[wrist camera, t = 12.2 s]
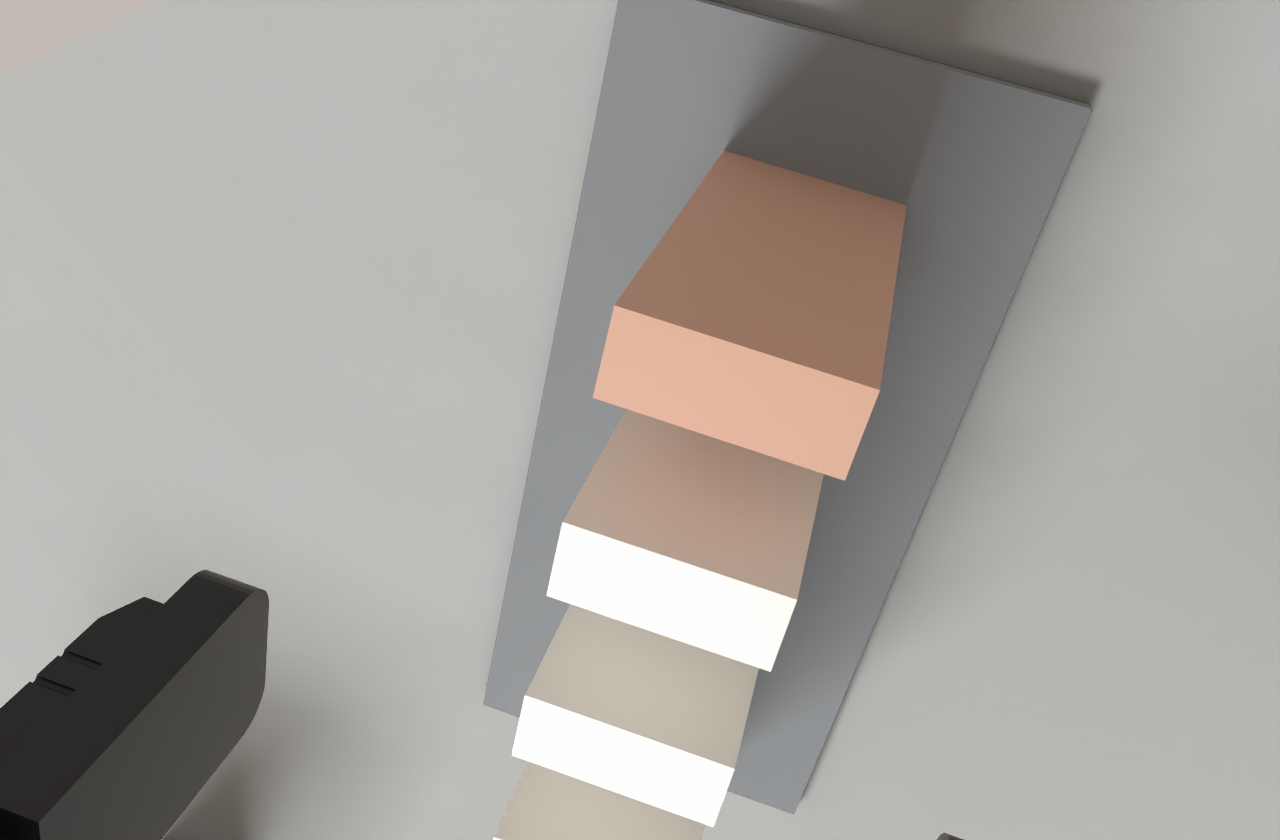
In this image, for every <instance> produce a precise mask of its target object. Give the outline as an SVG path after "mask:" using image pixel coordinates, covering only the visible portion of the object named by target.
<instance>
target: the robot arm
mask: <svg viewBox="0 0 1280 840" xmlns="http://www.w3.org/2000/svg"><path fill="white" fill-rule="evenodd" d="M268 612H269V599H268V595H267V592H266V591H265V590H262V589H259V588H256V587H254V586H251V585H248V584H245V583H242V582H239V581H237V580H234V579H231V578H228V577H225V576H222V575H220V574H217V573H214V572H211V571H208V570H203V571H200V572H198V573H196V574H195V575H194V576H192V577H191V578H190V579H189V580H188V581H187V582H186V583H185V584H184V585H183V586H182V587H181V588H180V589H179V590H178V591H177V592H176V593H175V594H174V595H173V596H172V597H171V598H170V599H169V600H168V601H167V602H166V603H164V604H163V603H160V602H157V601H154V600H151V599H149V598H146V597H143V598H141V599H139V600H136V601H134V602H132V603H130V604H128V605H126V606H124V607H122V608H119V609H117V610H115V611H113V612H111V613H109V614H107V615H105V616H102V617H100V618H98V619H97V620H96V621H95V622H94V623H93V624H92V625H91V626H90V627H89V628H87V629H86V630H85V631H84V632H83V633H82V634H81V635H80V636H79V637H78V638H77V639H75V640H74V641H73V642H72V643H71V644H70V645H69V646H68V647H67V648H66V649H65V650H64V653H63V655H62V656H61V657H60V656H57V657H56V658H55V659H54V660H53V661H52V662H50V663H49V664H48V665H47V666H46V667H45V668H44V669H43V670H42V671H41V672H40V673H38V674H37V677H36V679H35V681H34V682H33V683H32V682H29V683H28V684H27V685H25V686H24V687H23V688H22V689H21V690H20V691H19V692H18V693H17V694H16V695H15V696H13V697H12V698H11V699H10V700H9V701H8V702H7V703H6V704H5V705H4V706H3V707H1V708H0V840H161V839H162V837H163V836H164V835H165V834H166V832H167V831H168V830H169V828H170V827H171V826H172V825H173V823H174V822H175V821H176V820H177V818H178V817H179V816H180V815H181V813H182V812H183V811H184V810H185V808H186V807H187V806H188V804H189V803H190V802H191V801H192V799H193V798H194V797H195V796H196V794H197V793H198V792H199V791H200V789H201V788H202V787H203V786H204V784H205V783H206V782H207V780H208V779H209V778H210V777H211V775H212V774H213V773H214V772H215V770H216V769H217V768H218V767H219V765H220V764H221V763H222V761H223V760H224V759H225V758H226V756H227V755H228V754H229V753H230V751H231V750H232V749H233V748H234V746H235V745H236V744H237V743H238V741H239V740H240V739H241V737H242V736H243V735H244V733H245V732H246V730H247V729H248V727H249V725H250V724H251V722H252V720H253V718H254V716H255V714H256V711H257V709H258V707H259V704H260V701H261V698H262V694H263V690H264V685H265V670H266V651H267V631H268ZM937 840H963V839H960V838H957V837H955V836H952V835H949V834H946V833H943V834H941V835H940V836H939V837H938V839H937Z"/></svg>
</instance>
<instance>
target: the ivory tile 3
mask: <svg viewBox="0 0 1280 840" xmlns="http://www.w3.org/2000/svg"><path fill="white" fill-rule="evenodd" d="M758 670H759V668H757V667H754V666H752V665H749V664H746V663H743V662H740V661H737V660H734V659H731V658H728V657H725V656H722V655H719V654H716V653H713V652H710V651H707V650H704V649H702V648H699V647H696V646H693V645H690V644H687V643H684V642H681V641H678V640H675V639H672V638H669V637H666V636H663V635H660V634H657V633H654V632H652V631H649V630H646V629H643V628H640V627H637V626H634V625H631V624H628V623H625V622H622V621H619V620H616V619H613V618H610V617H607V616H604V615H602V614H599V613H596V612H593V611H590V610H587V609H584V608H581V607H578V606H575V605H572V604H570V605H569V607H568V609H567V611H566V613H565V615H564V617H563V619H562V621H561V623H560V625H559V627H558V629H557V631H556V633H555V635H554V637H553V639H552V641H551V643H550V645H549V647H548V649H547V651H546V653H545V655H544V657H543V659H542V661H541V663H540V665H539V668H538V670H537V672H536V674H535V676H534V678H533V680H532V682H531V684H530V686H529V688H528V690H527V692H526V694H525V696H524V701H523V705H522V710H521V715H520V719H519V724H518V728H517V733H516V738H515V742H514V747H513V751H512V755H513V756H515V757H518V758H521V759H524V760H527V761H529V762H532V763H535V764H538V765H541V766H543V767H546V768H549V769H552V770H555V771H557V772H560V773H563V774H566V775H568V776H571V777H574V778H577V779H580V780H582V781H585V782H588V783H591V784H594V785H596V786H599V787H602V788H605V789H608V790H610V791H613V792H616V793H619V794H622V795H624V796H627V797H630V798H633V799H636V800H638V801H641V802H644V803H647V804H650V805H652V806H655V807H658V808H661V809H663V810H666V811H669V812H672V813H675V814H677V815H680V816H683V817H686V818H689V819H691V820H694V821H697V822H700V823H703V824H705V825H708V826H711V827H714V824H715V821H716V818H717V816H718V813H719V810H720V808H721V805H722V802H723V800H724V797H725V794H726V791H727V789H728V786H729V783H730V781H731V778H732V775H733V772H734V770H735V766H736V762H737V758H738V753H739V749H740V745H741V741H742V737H743V733H744V728H745V724H746V720H747V716H748V712H749V707H750V703H751V699H752V695H753V691H754V687H755V682H756V678H757V674H758Z"/></svg>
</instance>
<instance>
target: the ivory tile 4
mask: <svg viewBox="0 0 1280 840" xmlns="http://www.w3.org/2000/svg"><path fill="white" fill-rule="evenodd" d="M823 476H824V474H822V473H819V472H816V471H813V470H810V469H807V468H804V467H801V466H798V465H795V464H792V463H789V462H786V461H783V460H780V459H777V458H774V457H771V456H768V455H765V454H762V453H759V452H756V451H753V450H750V449H747V448H744V447H741V446H737V445H734V444H731V443H728V442H725V441H722V440H719V439H716V438H713V437H710V436H707V435H704V434H701V433H698V432H695V431H692V430H689V429H686V428H683V427H680V426H677V425H674V424H671V423H668V422H665V421H662V420H659V419H656V418H652V417H649V416H646V415H643V414H640V413H637V412H634V411H631V410H628V409H626V410H625V412H624V414H623V416H622V417H621V419H620V421H619V423H618V425H617V426H616V428H615V430H614V432H613V433H612V435H611V437H610V439H609V440H608V442H607V444H606V446H605V448H604V449H603V451H602V453H601V455H600V456H599V458H598V460H597V462H596V463H595V465H594V467H593V469H592V471H591V472H590V474H589V476H588V478H587V479H586V481H585V483H584V485H583V486H582V488H581V490H580V492H579V493H578V495H577V497H576V499H575V501H574V502H573V504H572V506H571V508H570V509H569V511H568V513H567V515H566V516H565V518H564V520H563V522H562V526H561V530H560V535H559V540H558V544H557V549H556V553H555V558H554V563H553V567H552V572H551V576H550V581H549V586H548V590H547V595H546V596H549V597H552V598H554V599H557V600H560V601H563V602H566V603H569V604H572V605H575V606H578V607H581V608H584V609H587V610H590V611H593V612H596V613H599V614H602V615H604V616H607V617H610V618H613V619H616V620H619V621H622V622H625V623H628V624H631V625H634V626H637V627H640V628H643V629H646V630H649V631H652V632H654V633H657V634H660V635H663V636H666V637H669V638H672V639H675V640H678V641H681V642H684V643H687V644H690V645H693V646H696V647H699V648H702V649H704V650H707V651H710V652H713V653H716V654H719V655H722V656H725V657H728V658H731V659H734V660H737V661H740V662H743V663H746V664H749V665H752V666H754V667H757V668H760V669H763V670H766V671H769V672H771V670H772V667H773V664H774V661H775V659H776V656H777V653H778V651H779V648H780V645H781V643H782V640H783V637H784V634H785V632H786V629H787V626H788V624H789V621H790V618H791V616H792V613H793V610H794V607H795V605H796V602H797V599H798V594H799V589H800V585H801V580H802V575H803V570H804V566H805V561H806V556H807V551H808V547H809V542H810V537H811V532H812V528H813V523H814V518H815V513H816V509H817V504H818V499H819V495H820V490H821V485H822V480H823Z"/></svg>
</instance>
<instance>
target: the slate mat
mask: <svg viewBox="0 0 1280 840" xmlns="http://www.w3.org/2000/svg"><path fill="white" fill-rule="evenodd" d="M1091 110H1092V108H1091V106H1090V104H1086V103H1083V102H1079V101H1075V100H1072V99H1068V98H1064V97H1061V96H1057V95H1054V94H1050V93H1046V92H1043V91H1039V90H1035V89H1032V88H1028V87H1024V86H1021V85H1017V84H1013V83H1010V82H1006V81H1002V80H999V79H995V78H991V77H988V76H984V75H980V74H977V73H973V72H969V71H966V70H962V69H958V68H955V67H951V66H947V65H944V64H940V63H936V62H933V61H929V60H925V59H922V58H918V57H914V56H911V55H907V54H903V53H900V52H896V51H893V50H889V49H885V48H882V47H878V46H874V45H871V44H867V43H863V42H860V41H856V40H852V39H849V38H845V37H841V36H838V35H834V34H830V33H827V32H823V31H819V30H816V29H812V28H808V27H805V26H801V25H797V24H794V23H790V22H786V21H783V20H779V19H775V18H772V17H768V16H764V15H761V14H757V13H753V12H750V11H746V10H742V9H739V8H735V7H732V6H728V5H724V4H721V3H717V2H713V1H710V0H618V5H617V10H616V16H615V21H614V26H613V31H612V36H611V42H610V47H609V52H608V57H607V63H606V68H605V73H604V78H603V83H602V89H601V94H600V99H599V104H598V109H597V115H596V120H595V125H594V130H593V135H592V141H591V146H590V151H589V156H588V162H587V167H586V172H585V177H584V182H583V188H582V193H581V198H580V203H579V208H578V214H577V219H576V224H575V229H574V234H573V240H572V245H571V250H570V255H569V260H568V266H567V271H566V276H565V281H564V287H563V292H562V297H561V302H560V307H559V313H558V318H557V323H556V328H555V333H554V339H553V344H552V349H551V354H550V359H549V365H548V370H547V375H546V380H545V385H544V391H543V396H542V401H541V406H540V412H539V417H538V422H537V427H536V432H535V438H534V443H533V448H532V453H531V458H530V464H529V469H528V474H527V479H526V484H525V490H524V495H523V500H522V505H521V510H520V516H519V521H518V526H517V531H516V537H515V542H514V547H513V552H512V557H511V563H510V568H509V573H508V578H507V583H506V589H505V594H504V599H503V604H502V609H501V615H500V620H499V625H498V630H497V635H496V641H495V646H494V651H493V656H492V662H491V667H490V672H489V677H488V682H487V688H486V693H485V698H484V703H483V705H486V706H489V707H492V708H494V709H497V710H500V711H503V712H506V713H509V714H511V715H514V716H517V717H520V715H521V710H522V705H523V701H524V696H525V694H526V692H527V690H528V688H529V686H530V684H531V682H532V680H533V678H534V676H535V674H536V672H537V670H538V668H539V665H540V663H541V661H542V659H543V657H544V655H545V653H546V651H547V649H548V647H549V645H550V643H551V641H552V639H553V637H554V635H555V633H556V631H557V629H558V627H559V625H560V623H561V621H562V619H563V617H564V615H565V613H566V611H567V609H568V607H569V605H570V604H569V603H566V602H563V601H560V600H557V599H554V598H552V597H549V596H546V595H547V590H548V586H549V581H550V576H551V572H552V567H553V563H554V558H555V553H556V549H557V544H558V540H559V535H560V530H561V526H562V522H563V520H564V518H565V516H566V515H567V513H568V511H569V509H570V508H571V506H572V504H573V502H574V501H575V499H576V497H577V495H578V493H579V492H580V490H581V488H582V486H583V485H584V483H585V481H586V479H587V478H588V476H589V474H590V472H591V471H592V469H593V467H594V465H595V463H596V462H597V460H598V458H599V456H600V455H601V453H602V451H603V449H604V448H605V446H606V444H607V442H608V440H609V439H610V437H611V435H612V433H613V432H614V430H615V428H616V426H617V425H618V423H619V421H620V419H621V417H622V416H623V414H624V412H625V410H626V409H625V408H622V407H619V406H616V405H613V404H610V403H607V402H604V401H601V400H598V399H595V398H593V394H594V390H595V385H596V381H597V377H598V373H599V368H600V364H601V360H602V355H603V351H604V347H605V343H606V338H607V334H608V330H609V326H610V321H611V317H612V313H613V308H614V305H615V304H616V302H617V301H618V299H619V298H620V296H621V295H622V294H623V292H624V291H625V289H626V288H627V287H628V285H629V284H630V282H631V281H632V280H633V278H634V277H635V275H636V274H637V272H638V271H639V270H640V268H641V267H642V265H643V264H644V263H645V261H646V260H647V258H648V257H649V256H650V254H651V253H652V251H653V250H654V249H655V247H656V246H657V244H658V243H659V241H660V240H661V239H662V237H663V236H664V234H665V233H666V232H667V230H668V229H669V227H670V226H671V225H672V223H673V222H674V220H675V219H676V218H677V216H678V215H679V213H680V212H681V210H682V209H683V208H684V206H685V205H686V203H687V202H688V201H689V199H690V198H691V196H692V195H693V194H694V192H695V191H696V189H697V188H698V187H699V185H700V184H701V182H702V181H703V179H704V178H705V177H706V175H707V174H708V172H709V171H710V170H711V168H712V167H713V165H714V164H715V163H716V161H717V160H718V158H719V157H720V156H721V154H722V153H723V151H728V152H731V153H734V154H738V155H741V156H744V157H748V158H751V159H754V160H758V161H761V162H764V163H768V164H771V165H774V166H778V167H781V168H784V169H787V170H791V171H794V172H797V173H801V174H804V175H807V176H811V177H814V178H817V179H821V180H824V181H827V182H831V183H834V184H837V185H841V186H844V187H847V188H851V189H854V190H857V191H861V192H864V193H867V194H871V195H874V196H877V197H880V198H884V199H887V200H890V201H894V202H897V203H900V204H904V205H907V207H906V214H905V221H904V227H903V234H902V241H901V248H900V255H899V262H898V269H897V276H896V283H895V290H894V297H893V304H892V311H891V317H890V324H889V331H888V338H887V345H886V352H885V359H884V366H883V373H882V380H881V387H880V392H879V394H878V397H877V399H876V402H875V404H874V407H873V410H872V412H871V415H870V417H869V420H868V422H867V425H866V428H865V430H864V433H863V435H862V438H861V440H860V443H859V446H858V448H857V451H856V453H855V456H854V459H853V461H852V464H851V466H850V469H849V471H848V474H847V477H846V479H845V481H844V480H841V479H838V478H835V477H832V476H829V475H826V474H824V476H823V480H822V485H821V490H820V495H819V499H818V504H817V509H816V513H815V518H814V523H813V528H812V532H811V537H810V542H809V547H808V551H807V556H806V561H805V566H804V570H803V575H802V580H801V585H800V589H799V594H798V599H797V602H796V605H795V607H794V610H793V613H792V616H791V618H790V621H789V624H788V626H787V629H786V632H785V634H784V637H783V640H782V643H781V645H780V648H779V651H778V653H777V656H776V659H775V661H774V664H773V667H772V670H771V672H769V671H766V670H763V669H760V668H759V670H758V674H757V678H756V682H755V687H754V691H753V695H752V699H751V703H750V707H749V712H748V716H747V720H746V724H745V728H744V733H743V737H742V741H741V745H740V749H739V753H738V758H737V762H736V766H735V770H734V772H733V775H732V778H731V781H730V783H729V786H728V789H727V791H729V792H732V793H735V794H738V795H740V796H743V797H746V798H749V799H752V800H755V801H757V802H760V803H763V804H766V805H769V806H772V807H774V808H777V809H780V810H783V811H786V812H788V813H791V814H794V813H795V811H796V809H797V806H798V804H799V801H800V799H801V797H802V794H803V792H804V790H805V787H806V785H807V783H808V780H809V778H810V775H811V773H812V771H813V768H814V766H815V764H816V761H817V759H818V757H819V754H820V752H821V749H822V747H823V745H824V742H825V740H826V738H827V735H828V733H829V730H830V728H831V726H832V723H833V721H834V719H835V716H836V714H837V712H838V709H839V707H840V704H841V702H842V700H843V697H844V695H845V693H846V690H847V688H848V686H849V683H850V681H851V678H852V676H853V674H854V671H855V669H856V667H857V664H858V662H859V659H860V657H861V655H862V652H863V650H864V648H865V645H866V643H867V641H868V638H869V636H870V633H871V631H872V629H873V626H874V624H875V622H876V619H877V617H878V615H879V612H880V610H881V607H882V605H883V603H884V600H885V598H886V596H887V593H888V591H889V588H890V586H891V584H892V581H893V579H894V577H895V574H896V572H897V570H898V567H899V565H900V562H901V560H902V558H903V555H904V553H905V551H906V548H907V546H908V544H909V541H910V539H911V536H912V534H913V532H914V529H915V527H916V525H917V522H918V520H919V517H920V515H921V513H922V510H923V508H924V506H925V503H926V501H927V499H928V496H929V494H930V491H931V489H932V487H933V484H934V482H935V480H936V477H937V475H938V472H939V470H940V468H941V465H942V463H943V461H944V458H945V456H946V454H947V451H948V449H949V446H950V444H951V442H952V439H953V437H954V435H955V432H956V430H957V428H958V425H959V423H960V420H961V418H962V416H963V413H964V411H965V409H966V406H967V404H968V401H969V399H970V397H971V394H972V392H973V390H974V387H975V385H976V383H977V380H978V378H979V375H980V373H981V371H982V368H983V366H984V364H985V361H986V359H987V357H988V354H989V352H990V349H991V347H992V345H993V342H994V340H995V338H996V335H997V333H998V330H999V328H1000V326H1001V323H1002V321H1003V319H1004V316H1005V314H1006V312H1007V309H1008V307H1009V304H1010V302H1011V300H1012V297H1013V295H1014V293H1015V290H1016V288H1017V286H1018V283H1019V281H1020V278H1021V276H1022V274H1023V271H1024V269H1025V267H1026V264H1027V262H1028V259H1029V257H1030V255H1031V252H1032V250H1033V248H1034V245H1035V243H1036V241H1037V238H1038V236H1039V233H1040V231H1041V229H1042V226H1043V224H1044V222H1045V219H1046V217H1047V215H1048V212H1049V210H1050V207H1051V205H1052V203H1053V200H1054V198H1055V196H1056V193H1057V191H1058V188H1059V186H1060V184H1061V181H1062V179H1063V177H1064V174H1065V172H1066V170H1067V167H1068V165H1069V162H1070V160H1071V158H1072V155H1073V153H1074V151H1075V148H1076V146H1077V143H1078V141H1079V139H1080V136H1081V134H1082V132H1083V129H1084V127H1085V125H1086V122H1087V120H1088V117H1089V115H1090V113H1091Z"/></svg>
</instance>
